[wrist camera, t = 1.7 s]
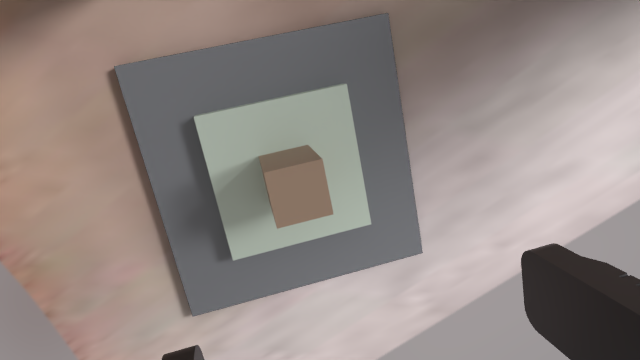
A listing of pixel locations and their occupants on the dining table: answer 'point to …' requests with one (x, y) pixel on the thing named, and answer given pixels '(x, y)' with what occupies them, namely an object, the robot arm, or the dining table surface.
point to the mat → (258, 85)
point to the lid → (285, 169)
